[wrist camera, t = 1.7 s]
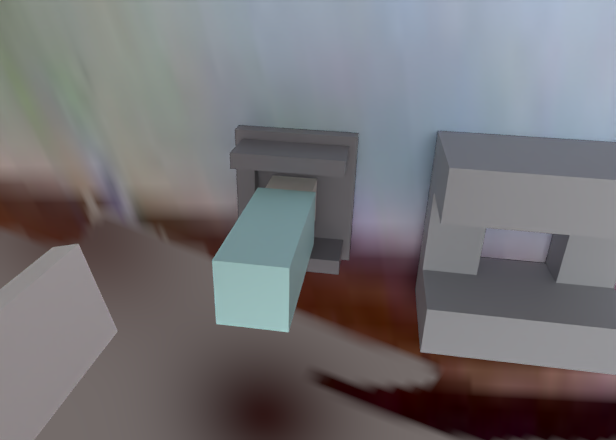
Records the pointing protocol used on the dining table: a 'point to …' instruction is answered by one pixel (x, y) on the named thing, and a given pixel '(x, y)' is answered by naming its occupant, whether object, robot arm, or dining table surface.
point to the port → (520, 274)
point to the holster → (306, 164)
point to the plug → (266, 256)
